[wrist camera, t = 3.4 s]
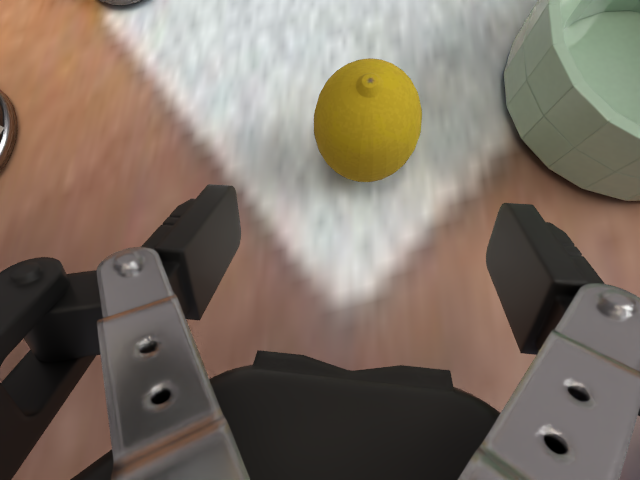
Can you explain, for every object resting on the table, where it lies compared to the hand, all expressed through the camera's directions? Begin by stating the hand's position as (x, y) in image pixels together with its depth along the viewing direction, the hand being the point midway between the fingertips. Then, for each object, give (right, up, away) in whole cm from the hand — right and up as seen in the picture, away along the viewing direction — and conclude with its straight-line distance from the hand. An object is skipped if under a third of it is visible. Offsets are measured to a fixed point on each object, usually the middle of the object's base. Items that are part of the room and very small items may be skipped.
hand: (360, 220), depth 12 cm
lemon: (+2, +5, +12) cm, 13 cm away
